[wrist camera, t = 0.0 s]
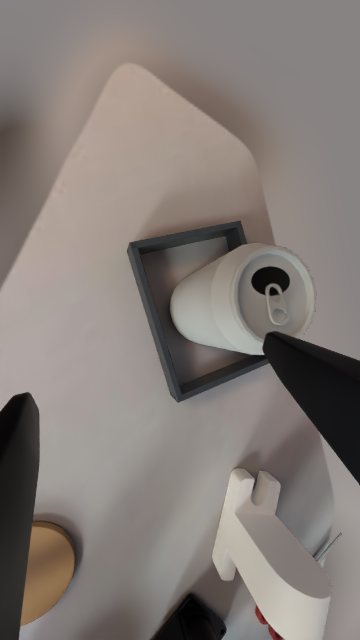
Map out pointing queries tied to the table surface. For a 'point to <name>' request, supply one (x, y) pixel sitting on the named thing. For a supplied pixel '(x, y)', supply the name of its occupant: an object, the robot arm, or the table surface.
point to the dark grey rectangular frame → (134, 250)
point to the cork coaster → (46, 569)
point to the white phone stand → (270, 559)
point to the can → (245, 299)
